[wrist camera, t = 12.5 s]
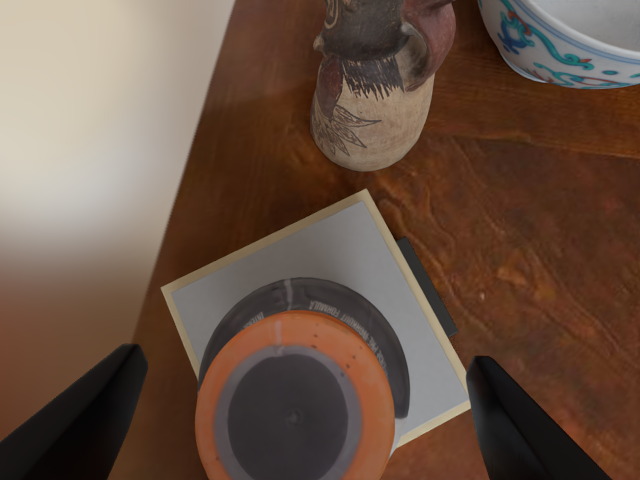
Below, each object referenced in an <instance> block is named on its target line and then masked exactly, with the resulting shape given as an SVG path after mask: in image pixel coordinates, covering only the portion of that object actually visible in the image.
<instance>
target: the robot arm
mask: <svg viewBox="0 0 640 480" xmlns="http://www.w3.org/2000/svg"><path fill="white" fill-rule="evenodd" d="M147 370H148V362H147V359H146V357H145V355H144V353H143V351H142V348H141V346H140V345H138V344H123V345H121V346H119V347H118V348H117V349H115V350H114V351H113V352H112V353H111V354H110V355H108V356H107V357H106V358H104V359H103V360H102V361H100V362H99V363H98V364H97V365H96V366H94V367H93V368H92V369H90V370H89V371H88V372H87V373H86V374H84V375H83V376H82V377H80V378H79V379H78V380H77V381H75V382H74V383H73V384H72V385H70V386H69V387H68V388H67V389H65V390H64V391H63V392H62V393H61V394H59V395H58V396H57V397H56V398H54V399H53V400H52V401H51V402H49V403H48V404H47V405H46V406H44V407H43V408H42V409H41V410H39V411H38V412H37V413H36V414H34V415H33V416H32V417H31V418H29V419H28V420H27V421H26V422H24V423H23V424H22V425H21V426H19V427H18V428H17V429H16V430H14V431H13V432H12V433H11V434H9V435H8V436H7V437H6V438H4V439H3V440H2V441H1V442H0V480H107V479H108V476H109V474H110V472H111V469H112V467H113V465H114V462H115V460H116V458H117V455H118V453H119V451H120V448H121V446H122V444H123V441H124V439H125V437H126V434H127V432H128V429H129V427H130V424H131V421H132V418H133V415H134V412H135V408H136V405H137V402H138V399H139V396H140V393H141V389H142V386H143V383H144V380H145V377H146V374H147ZM466 385H467V390H468V395H469V400H470V405H471V410H472V415H473V420H474V425H475V430H476V434H477V439H478V443H479V446H480V450H481V453H482V456H483V459H484V463H485V466H486V469H487V472H488V475H489V479H490V480H612V479H611V478H610V477H609V476H608V475H607V474H606V473H605V472H604V471H603V470H602V469H601V468H600V467H599V466H598V465H597V464H596V463H595V462H594V461H593V460H592V459H591V458H590V457H589V456H588V455H587V454H586V453H585V452H584V451H583V450H582V449H581V448H580V447H579V446H578V445H577V443H576V442H575V441H574V440H573V439H572V438H571V437H570V436H569V435H568V434H567V433H566V432H565V431H564V430H563V429H562V428H561V427H560V426H559V425H558V424H557V423H556V422H555V421H554V420H553V419H552V418H551V417H550V416H549V415H548V414H547V413H546V412H545V411H544V410H543V409H542V408H541V407H540V406H539V405H538V404H537V403H536V402H535V401H534V400H533V399H532V398H531V397H530V396H529V395H528V394H527V393H526V392H525V391H524V390H523V389H522V388H521V387H520V386H519V384H518V383H517V382H516V381H515V380H514V379H513V378H512V377H511V376H510V375H509V374H508V373H507V372H506V371H505V370H504V369H503V368H502V367H501V366H500V365H499V364H498V363H497V362H496V361H495V360H494V359H493V358H491V357H489V356H474V357H473V359H472V361H471V363H470V366H469V368H468V370H467V373H466Z"/></svg>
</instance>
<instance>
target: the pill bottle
mask: <svg viewBox="0 0 640 480" xmlns="http://www.w3.org/2000/svg"><path fill="white" fill-rule="evenodd" d="M197 398H198V400H197V407H196V414H195V435H196V443H197V448H198V452H199V456H200V459H201V462H202V465H203V467H204V469H205V471H206V474H207V477H208V478H209V480H380V478H381V476H382V474H383V472H384V470H385V468H386V465H387V462H388V460H389V458H390V457H391V455H392V453H393V451H394V450H395V448H396V446H397V444H398V442H399V440H400V438H401V435H402V433H403V430H404V426H405V422H406V418H407V416H408V411H409V405H410V378H409V371H408V366H407V362H406V358H405V354H404V351H403V349H402V346H401V344H400V341H399V339H398V337H397V335H396V333H395V331H394V330H393V328H392V327H391V325H390V324H389V322H388V321H387V320H386V318H385V317H384V316H383V314H382V313H381V312H380V311H379V310H378V309H377V308H376V307H375V306H374V305H373V304H372V303H371V302H370V301H368V300H367V299H366V298H365V297H364V296H362V295H361V294H359V293H357V292H356V291H354V290H352V289H350V288H349V287H347V286H344V285H342V284H339V283H336V282H333V281H330V280H324V279H319V278H312V277H297V278H290V279H283V280H279V281H276V282H273V283H270V284H268V285H265V286H263V287H260V288H258V289H257V290H255V291H253V292H251V293H250V294H249V295H247V296H246V297H244V298H243V299H242V300H240V301H239V302H238V303H237V304H235V305H234V306H233V308H232V309H231V310H230V311H229V312H228V313H227V314H226V315H225V316H224V317H223V318H222V320H221V321H220V323H219V324H218V326H217V327H216V328H215V330H214V332H213V334H212V336H211V338H210V340H209V342H208V344H207V346H206V349H205V352H204V355H203V358H202V361H201V366H200V370H199V377H198V397H197Z"/></svg>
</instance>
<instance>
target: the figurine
mask: <svg viewBox="0 0 640 480" xmlns="http://www.w3.org/2000/svg"><path fill="white" fill-rule="evenodd" d="M454 1H456V0H325V2H326V8H327V14H326V18H325V22H324V25H323V29H322V31H321V32H320V34H319V35H318V36H317V37H316V39H315V41H314V44H313V48H314V51H319V52H321V53H322V54H323V56H324V57H323V59H322V61H321V64H320V67H319V71H318V77H317V83H316V90H315V92H314V95H313V98H312V104H311V111H310V132H311V134H312V136H313V138H314V141H315V143H316V145H317V146H318V148H319V149H320V150H321V151H322V152H323V153H324V155H325V156H326V157H327V158H329V159H330V160H331V161H332V162H334V163H336V164H338V165H340V166H342V167H345V168H348V169H350V170H355V171H361V172H363V171H375V170H379V169H382V168H386V167H389V166H390V165H392V164H394V163H395V162H397V161H399V160H400V159H402V158H403V157H404V156H405V154H406V153H407V152H408V151H409V150H410V149H411V148H412V147H413V145H414V144H415V143H416V142H417V140H418V138H419V136H420V133H421V131H422V128H423V126H424V123H425V121H426V118H427V115H428V111H429V107H430V103H431V98H432V90H433V83H434V76H435V72H436V71H437V70H438V69H439V68H440V66H441V64H442V62H443V61H444V59H445V57H446V56H447V54H448V52H449V50H450V49H451V47H452V45H453V41H454V36H455V31H456V22H455V14H454V11H453V7H452V4H451V3H452V2H454Z"/></svg>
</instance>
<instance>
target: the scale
mask: <svg viewBox="0 0 640 480" xmlns="http://www.w3.org/2000/svg"><path fill="white" fill-rule="evenodd" d="M297 277H312V278H319V279H324V280H330V281H333V282H336V283H339V284H342V285H344V286H347V287H349V288H350V289H352V290H354V291H356V292H357V293H359V294H361V295H362V296H364V297H365V298H366V299H367V300H368V301H370V302H371V303H372V304H373V305H374V306H375V307H376V308H377V309H378V310H379V311H380V312H381V313H382V314H383V316H384V317H385V318H386V320H387V321H388V322H389V324H390V325H391V327H392V328H393V330H394V331H395V333H396V335H397V337H398V339H399V341H400V344H401V346H402V349H403V351H404V354H405V358H406V362H407V366H408V371H409V378H410V405H409V411H408V416H407V418H406V422H405V426H404V430H403V433H402V435H401V438H400V440H399V442H398V444H397V446H396V448H398V447H400V446H402V445H403V444H405V443H407V442H409V441H411V440H413V439H414V438H416V437H418V436H420V435H422V434H424V433H426V432H427V431H429V430H431V429H433V428H435V427H437V426H439V425H440V424H442V423H444V422H446V421H448V420H450V419H451V418H453V417H455V416H457V415H459V414H461V413H463V412H464V411H466V410H468V409H470V408H471V405H470V400H469V395H468V390H467V385H466V373H467V372H466V371H465V369H464V367H463V365H462V363H461V361H460V360H459V358H458V356H457V354H456V352H455V350H454V348H453V347H452V345H451V343H450V341H449V339H448V337H450V336H452V335H454V334H456V333H458V329H457V327H456V326H455V324H454V322H453V320H452V318H451V317H450V315H449V313H448V311H447V309H446V307H445V306H444V304H443V302H442V300H441V298H440V297H439V295H438V293H437V291H436V289H435V288H434V286H433V284H432V282H431V280H430V278H429V277H428V275H427V273H426V271H425V269H424V268H423V266H422V264H421V262H420V260H419V258H418V257H417V255H416V253H415V251H414V249H413V248H412V246H411V244H410V242H409V240H408V239H407V237H403V238H401V239H399V240H397V241H395V240H394V238H393V236H392V234H391V233H390V231H389V229H388V227H387V225H386V223H385V222H384V220H383V218H382V216H381V214H380V212H379V211H378V209H377V207H376V205H375V203H374V201H373V199H372V198H371V196H370V194H369V192H368V190H367V189H364V190H362V191H360V192H358V193H356V194H354V195H351V196H349V197H347V198H345V199H343V200H341V201H339V202H337V203H335V204H333V205H331V206H329V207H327V208H324V209H322V210H320V211H318V212H316V213H314V214H312V215H310V216H308V217H306V218H304V219H302V220H300V221H298V222H295V223H293V224H291V225H289V226H287V227H285V228H283V229H281V230H279V231H277V232H275V233H273V234H271V235H268V236H266V237H264V238H262V239H260V240H258V241H256V242H254V243H252V244H250V245H248V246H246V247H244V248H242V249H239V250H237V251H235V252H233V253H231V254H229V255H227V256H225V257H223V258H221V259H219V260H217V261H215V262H212V263H210V264H208V265H206V266H204V267H202V268H200V269H198V270H196V271H194V272H192V273H190V274H188V275H186V276H183V277H181V278H179V279H177V280H175V281H173V282H171V283H169V284H167V285H165V286H163V287H161V290H162V292H163V295H164V297H165V300H166V302H167V305H168V307H169V310H170V312H171V315H172V317H173V320H174V322H175V325H176V327H177V330H178V332H179V335H180V337H181V340H182V342H183V345H184V347H185V350H186V352H187V355H188V357H189V360H190V362H191V365H192V367H193V370H194V372H195V375H196V377H197V380H198V377H199V370H200V366H201V361H202V358H203V355H204V352H205V349H206V346H207V344H208V342H209V340H210V338H211V336H212V334H213V332H214V330H215V328H216V327H217V326H218V324H219V323H220V321H221V320H222V318H223V317H224V316H225V315H226V314H227V313H228V312H229V311H230V310H231V309H232V308H233V306H234V305H235V304H237V303H238V302H239V301H240V300H242V299H243V298H244V297H246V296H247V295H249V294H250V293H251V292H253V291H255V290H257V289H258V288H260V287H263V286H265V285H268V284H270V283H273V282H276V281H279V280H283V279H290V278H297ZM396 448H395V449H396Z"/></svg>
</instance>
